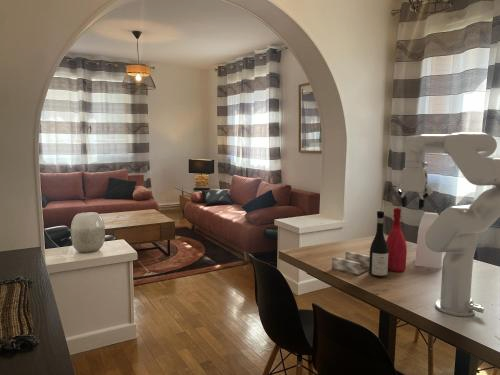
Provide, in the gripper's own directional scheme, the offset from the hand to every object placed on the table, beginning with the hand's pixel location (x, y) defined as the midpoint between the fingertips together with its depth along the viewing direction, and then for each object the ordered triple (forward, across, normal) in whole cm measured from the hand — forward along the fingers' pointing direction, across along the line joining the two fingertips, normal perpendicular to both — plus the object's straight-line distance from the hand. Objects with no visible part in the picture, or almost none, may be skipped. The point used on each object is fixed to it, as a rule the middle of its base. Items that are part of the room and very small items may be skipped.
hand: (412, 207), depth 159 cm
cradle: (+33, +27, 0) cm, 43 cm away
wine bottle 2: (+34, +12, -14) cm, 38 cm away
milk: (+34, +3, -34) cm, 48 cm away
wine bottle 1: (+34, +14, 0) cm, 37 cm away
